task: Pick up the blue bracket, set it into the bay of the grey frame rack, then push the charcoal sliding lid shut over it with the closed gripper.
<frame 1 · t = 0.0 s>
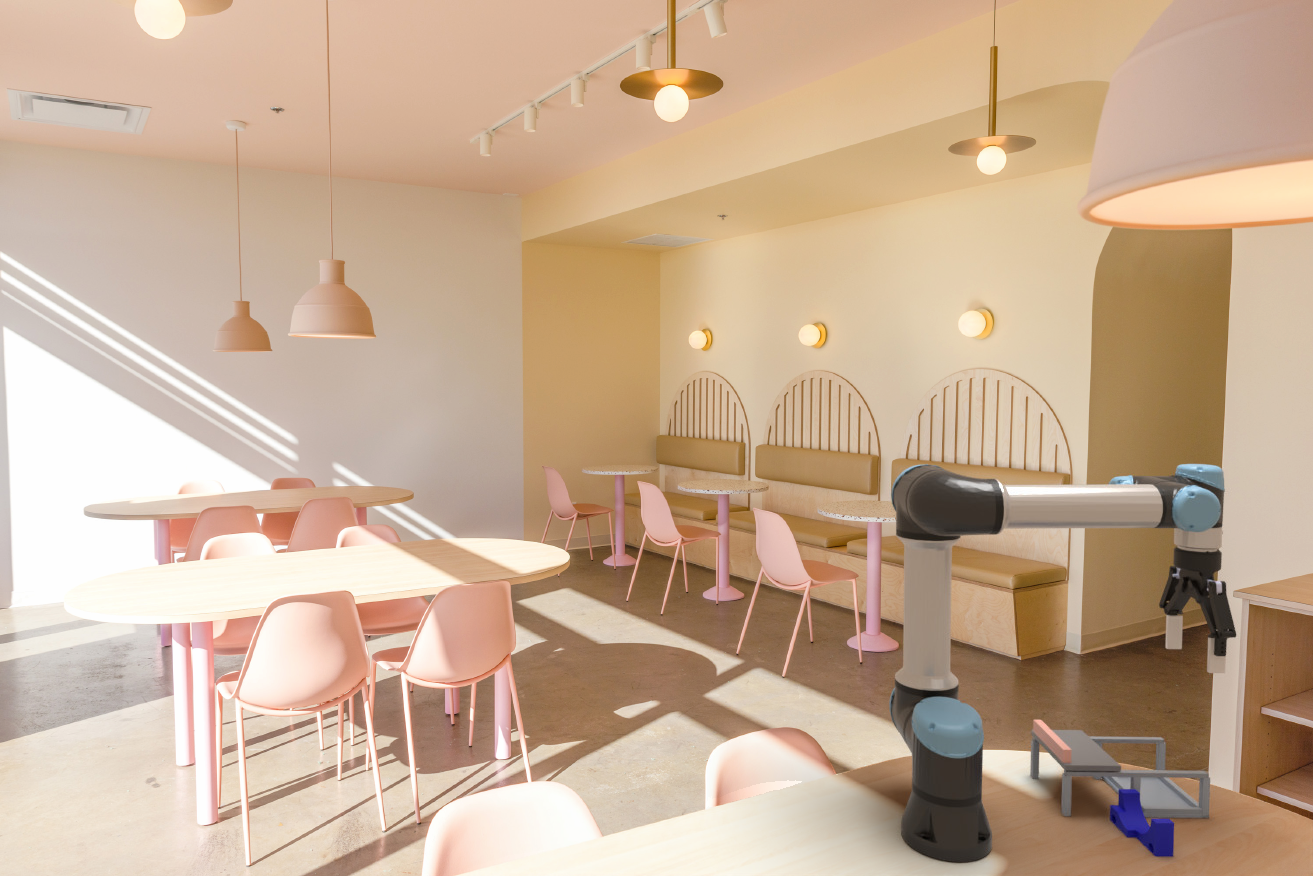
hand: (1193, 660, 159), 28 cm above the table, fingers open, 13 cm apart
grey frame rack: (1152, 796, 164), on the table
blue bracket: (1140, 839, 150), on the table
lid: (1073, 743, 164), point 10 cm above the table, slide at 15.0 cm
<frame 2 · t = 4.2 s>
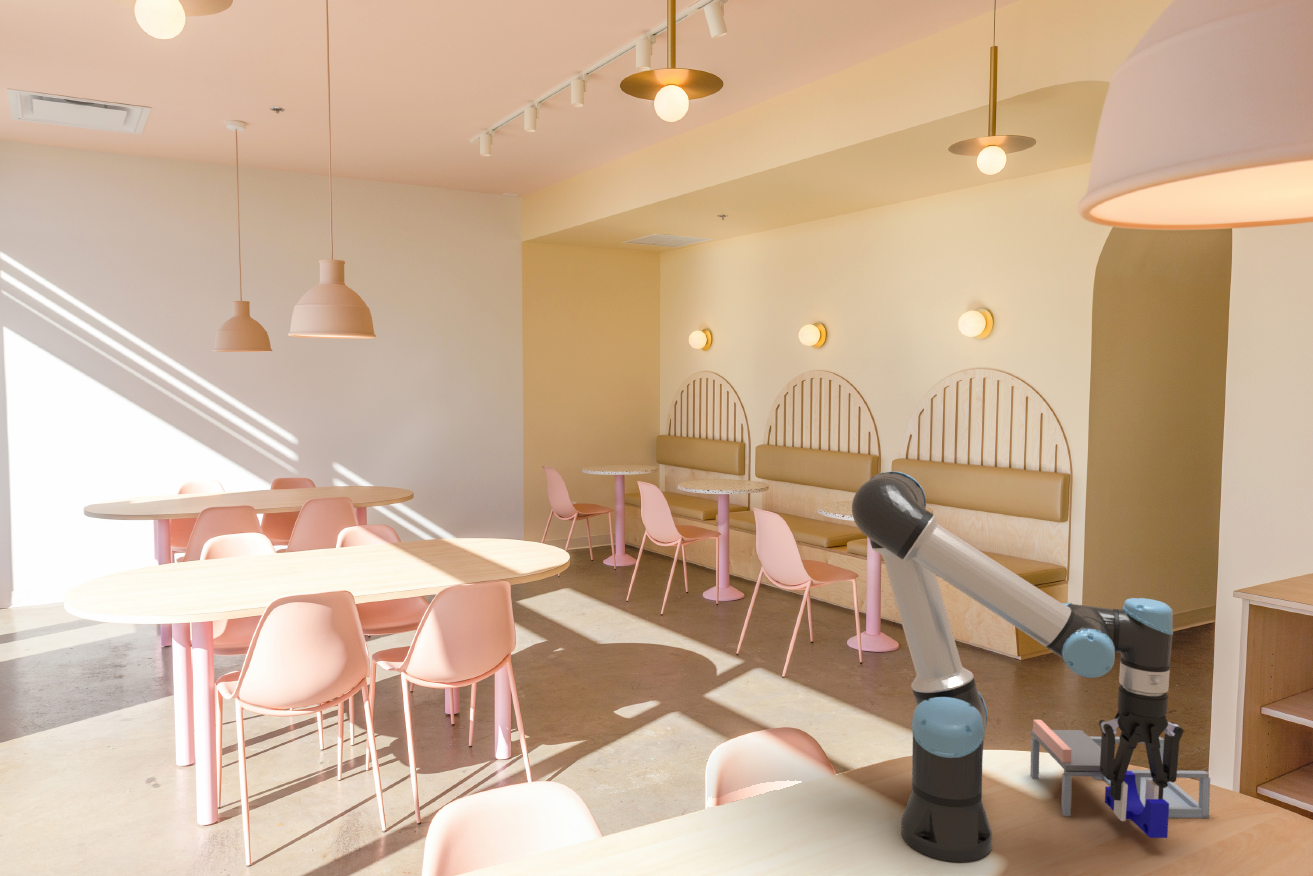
hand: (1134, 817, 150), 3 cm above the table, fingers closed on blue bracket, 5 cm apart
blue bracket: (1134, 820, 150), point 3 cm above the table, touching gripper
everything else where it was.
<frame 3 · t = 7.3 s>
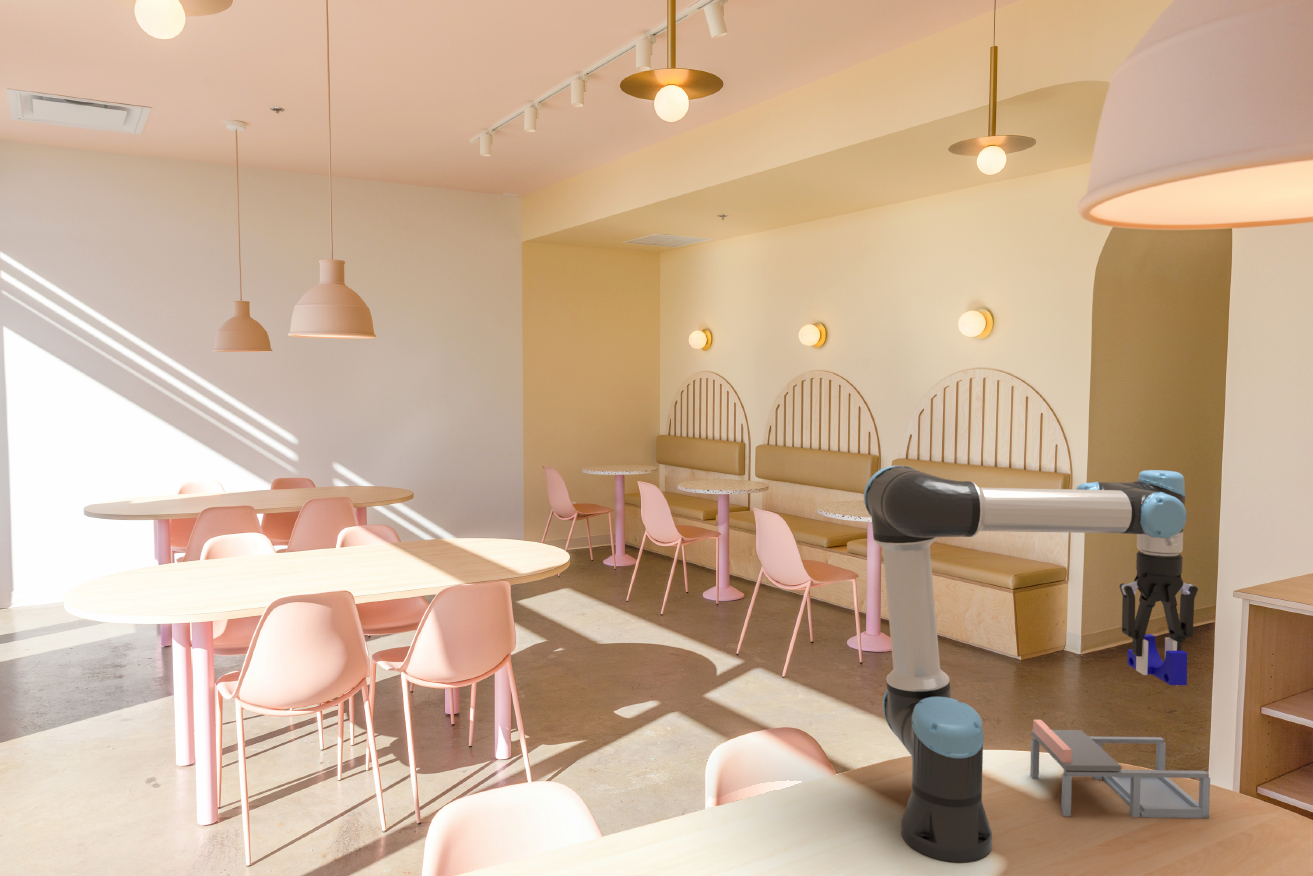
hand: (1155, 672, 162), 25 cm above the table, fingers closed on blue bracket, 5 cm apart
blue bracket: (1156, 675, 162), point 24 cm above the table, touching gripper
everything else where it was.
when the fingers open (1 cm above the table, at t = 10.4 s): blue bracket stays where it is, resting on grey frame rack.
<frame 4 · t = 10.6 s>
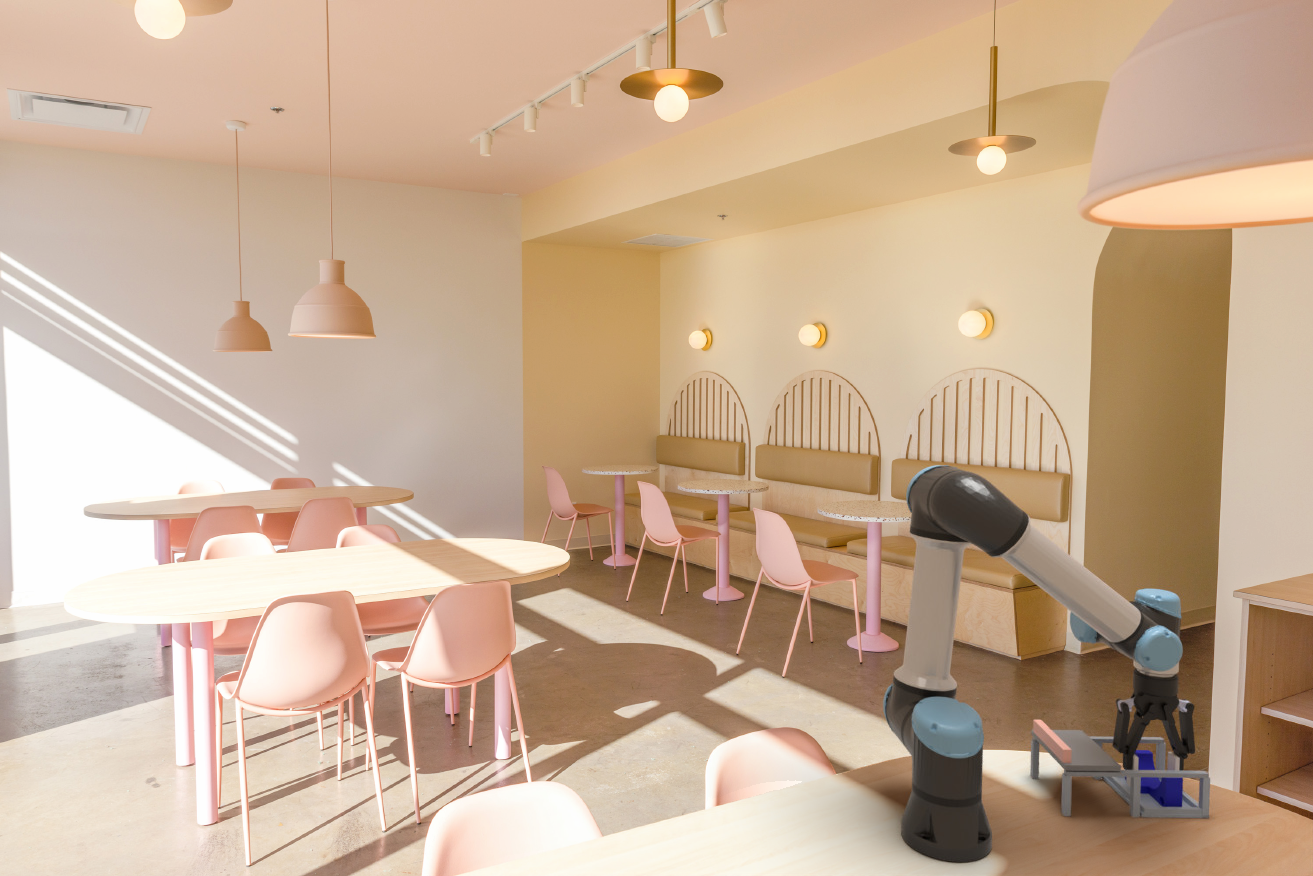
hand: (1152, 787, 164), 2 cm above the table, fingers open, 7 cm apart
blue bracket: (1152, 794, 164), resting on grey frame rack
everything else where it was.
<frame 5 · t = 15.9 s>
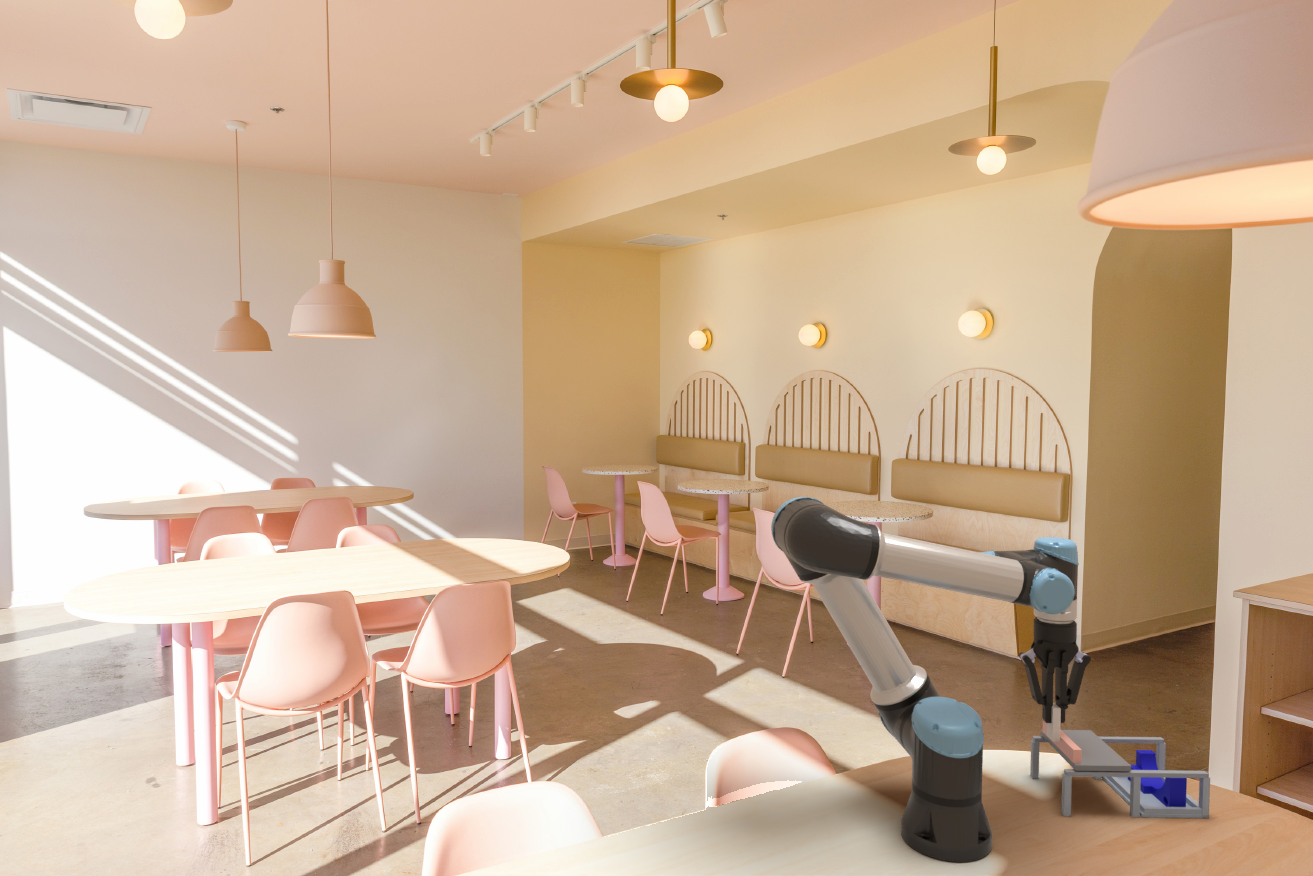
hand: (1053, 738, 164), 11 cm above the table, fingers closed
lid: (1083, 743, 164), point 10 cm above the table, slide at 13.1 cm, touching gripper
everything else where it was.
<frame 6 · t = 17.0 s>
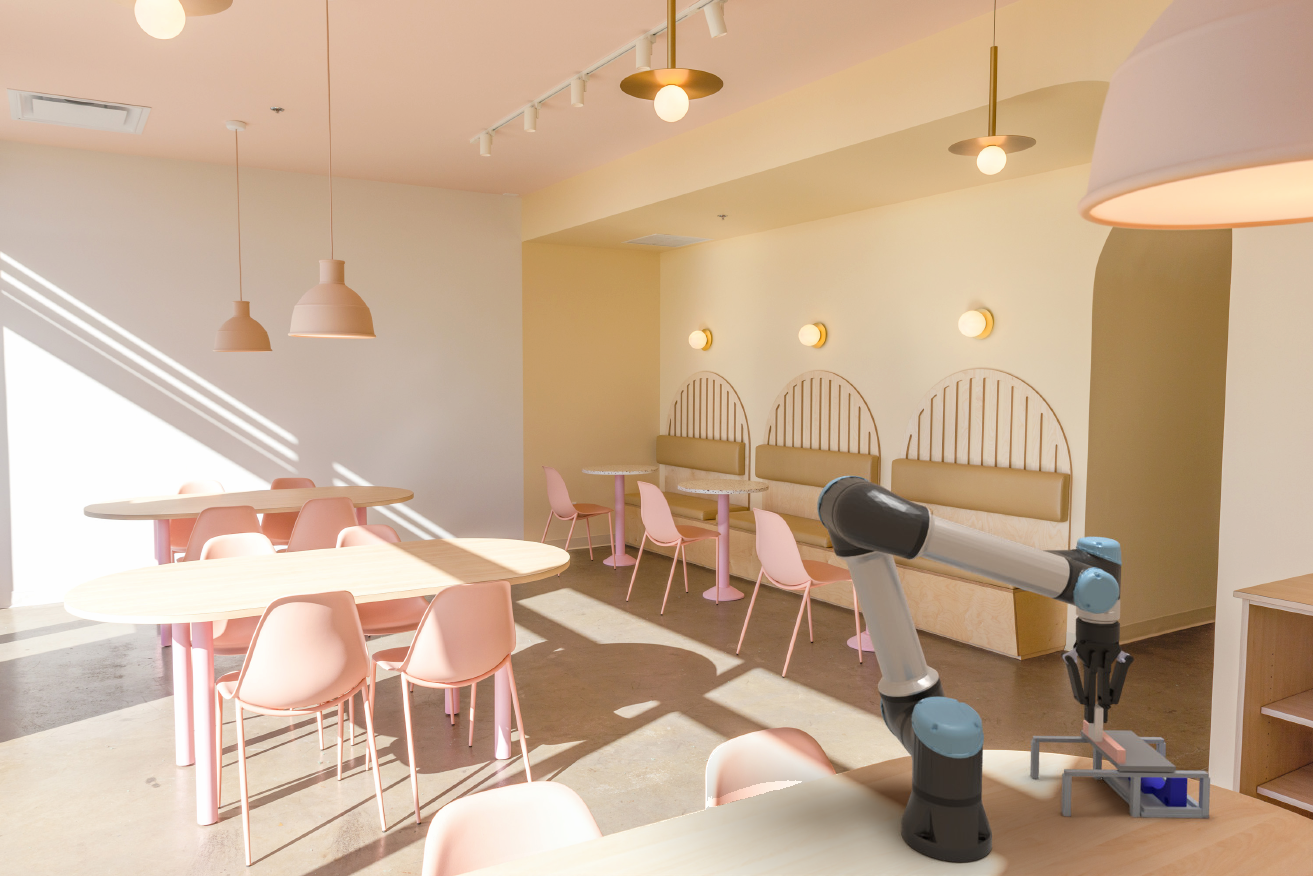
hand: (1095, 738, 164), 11 cm above the table, fingers closed
lid: (1125, 743, 164), point 10 cm above the table, slide at 5.2 cm, touching gripper
everything else where it was.
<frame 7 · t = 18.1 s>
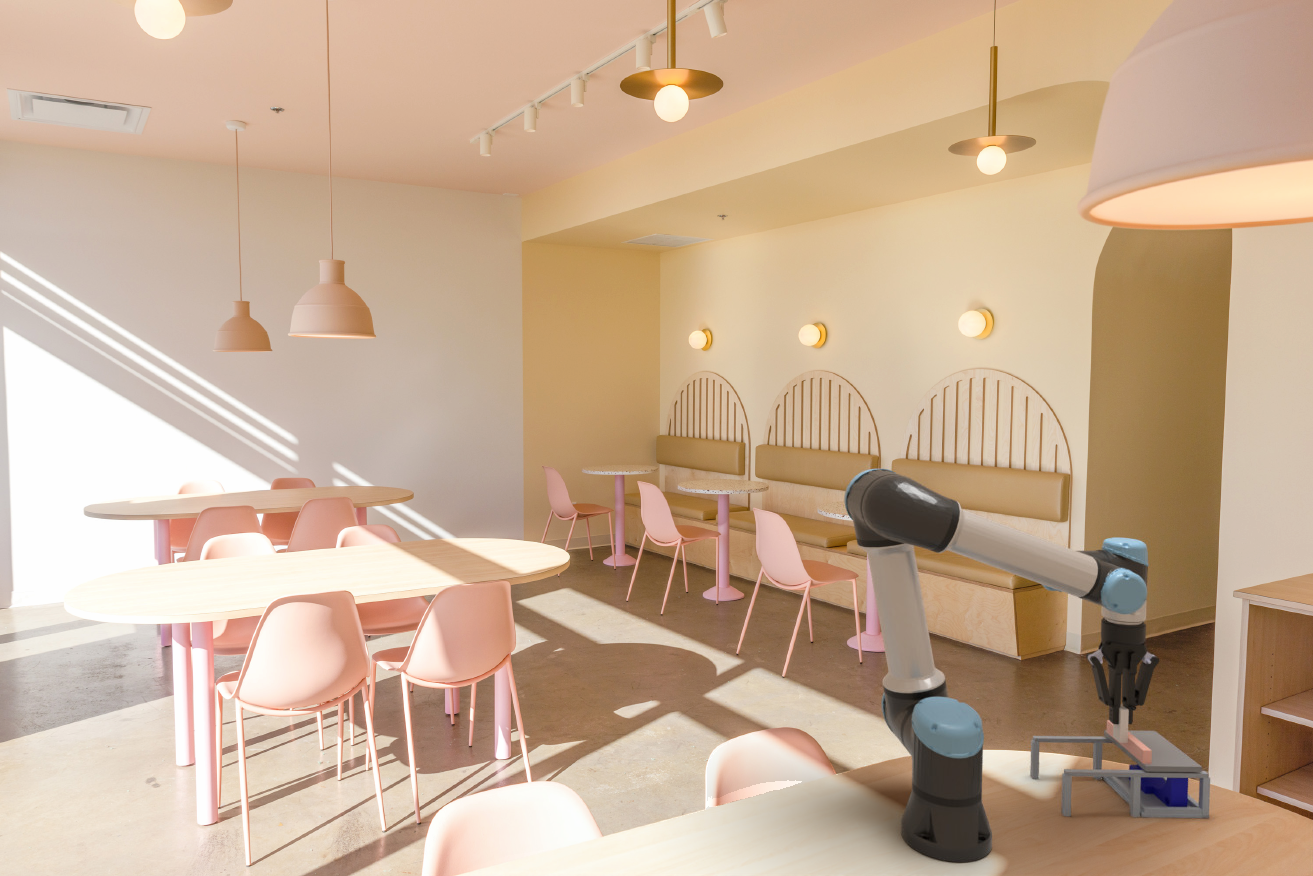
hand: (1120, 739, 164), 11 cm above the table, fingers closed
lid: (1150, 743, 163), point 10 cm above the table, slide at 0.5 cm, touching gripper
everything else where it was.
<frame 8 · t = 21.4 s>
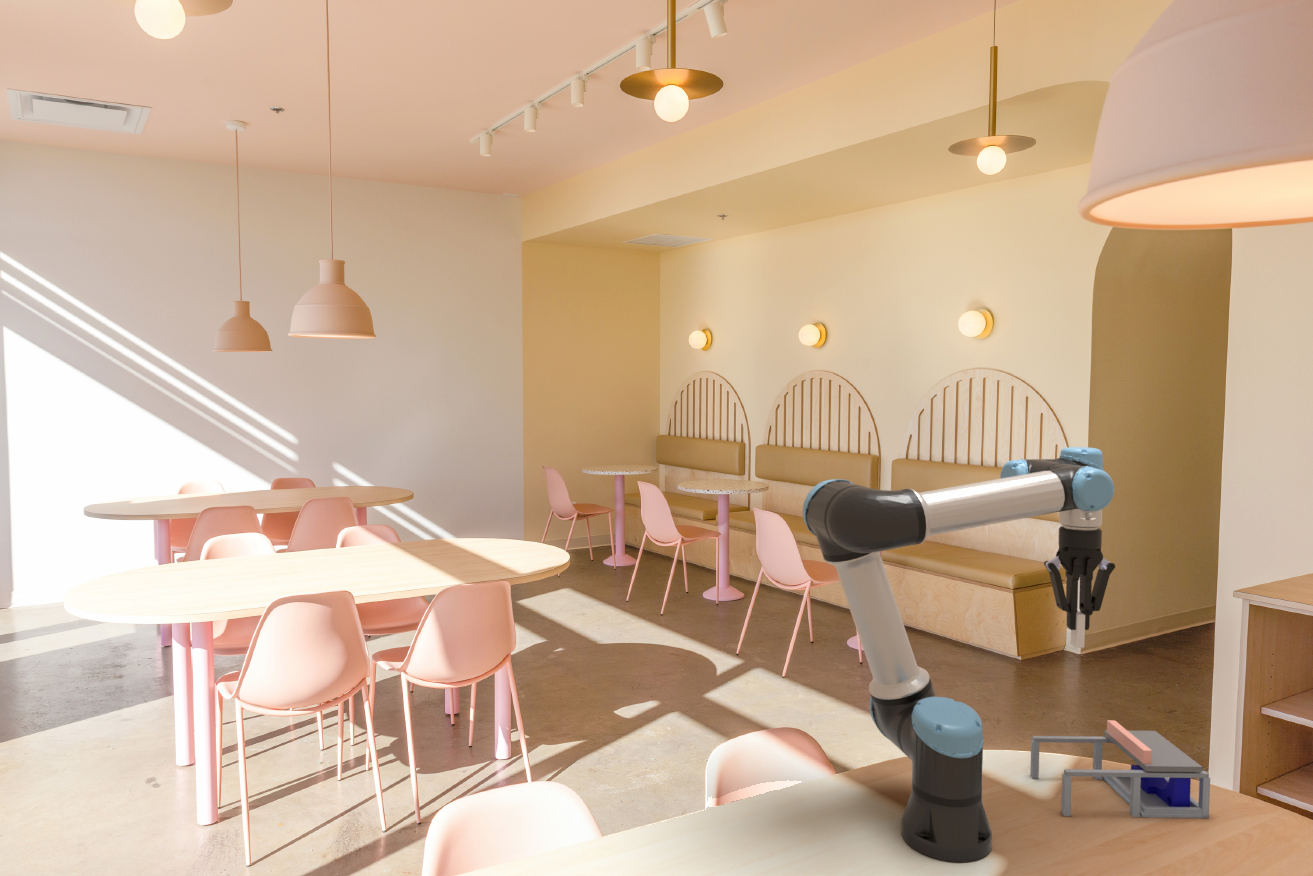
hand: (1077, 645, 167), 28 cm above the table, fingers closed
lid: (1151, 743, 163), point 10 cm above the table, slide at 0.5 cm
at the end: lid slide at 0.5 cm; blue bracket inside the target area on the grey frame rack (1.2 cm from its centre), point 0.4 cm above the grey frame rack's base; the gripper is holding nothing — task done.
